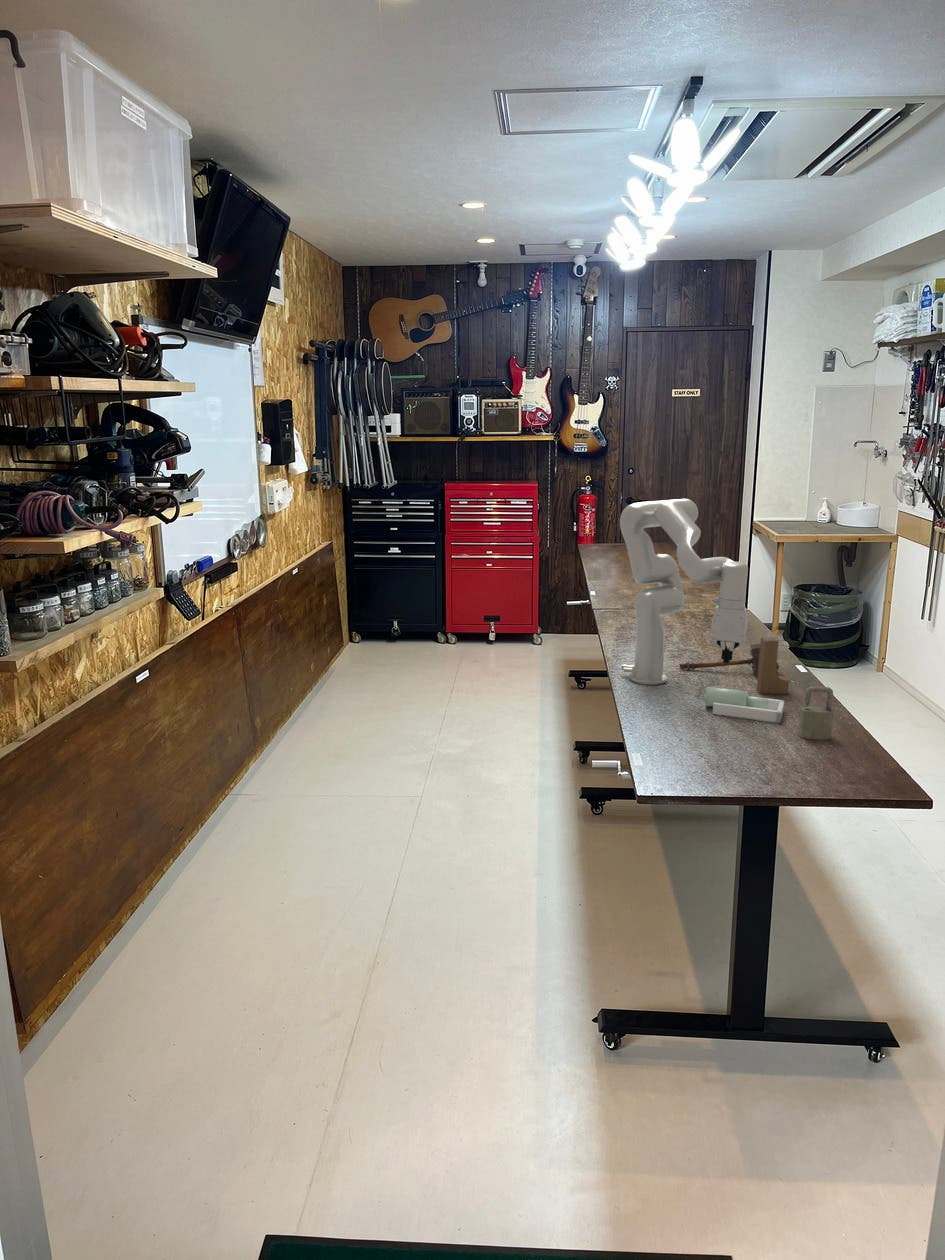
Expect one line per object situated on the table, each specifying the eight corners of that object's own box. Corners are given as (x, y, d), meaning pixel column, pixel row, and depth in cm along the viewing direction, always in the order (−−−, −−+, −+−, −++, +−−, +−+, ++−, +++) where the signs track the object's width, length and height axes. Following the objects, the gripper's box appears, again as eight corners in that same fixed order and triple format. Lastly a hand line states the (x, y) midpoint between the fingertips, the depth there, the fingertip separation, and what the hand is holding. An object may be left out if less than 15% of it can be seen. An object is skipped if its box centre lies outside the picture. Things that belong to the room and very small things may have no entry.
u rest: (712, 714, 274) (713, 703, 273) (718, 702, 284) (719, 692, 283) (780, 723, 267) (781, 712, 266) (783, 711, 277) (784, 700, 276)
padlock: (798, 733, 259) (803, 684, 255) (827, 734, 258) (833, 685, 254) (801, 738, 255) (806, 688, 251) (831, 740, 254) (837, 689, 250)
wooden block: (783, 689, 296) (788, 636, 291) (788, 694, 292) (793, 640, 287) (756, 689, 296) (760, 636, 291) (760, 694, 292) (765, 640, 287)
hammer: (780, 674, 308) (776, 646, 305) (682, 686, 315) (678, 659, 313) (777, 668, 314) (774, 640, 312) (682, 680, 322) (678, 653, 320)
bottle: (706, 687, 277) (767, 695, 270) (708, 685, 282) (768, 692, 276) (704, 707, 277) (765, 714, 271) (706, 704, 283) (766, 711, 276)
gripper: (704, 603, 269) (699, 662, 274) (756, 608, 263) (750, 668, 268) (708, 598, 276) (703, 655, 281) (759, 603, 270) (753, 661, 275)
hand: (726, 661), depth 274 cm, fingers closed
